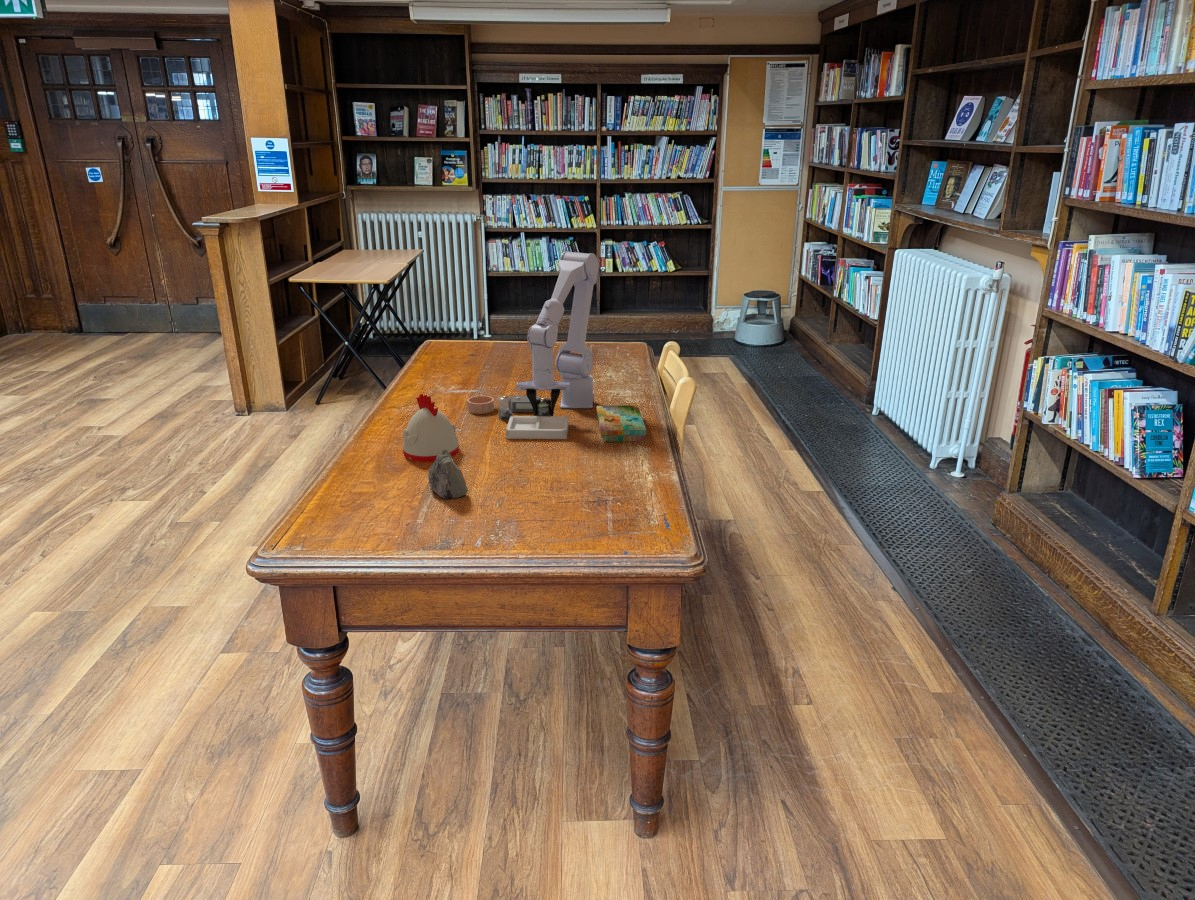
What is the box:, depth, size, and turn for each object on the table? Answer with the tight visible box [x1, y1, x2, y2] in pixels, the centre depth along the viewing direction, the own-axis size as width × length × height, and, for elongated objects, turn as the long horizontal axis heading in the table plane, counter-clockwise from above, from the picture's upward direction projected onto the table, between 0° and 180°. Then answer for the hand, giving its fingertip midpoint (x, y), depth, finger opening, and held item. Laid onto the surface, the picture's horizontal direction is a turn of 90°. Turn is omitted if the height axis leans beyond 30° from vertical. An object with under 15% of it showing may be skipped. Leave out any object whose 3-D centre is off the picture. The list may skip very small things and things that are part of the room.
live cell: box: [536, 397, 551, 416], centre depth 227 cm, size 4×4×6 cm
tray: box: [505, 415, 569, 440], centre depth 220 cm, size 16×11×2 cm
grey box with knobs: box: [511, 395, 541, 413], centre depth 237 cm, size 8×6×3 cm
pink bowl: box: [466, 395, 496, 415], centre depth 236 cm, size 8×8×3 cm
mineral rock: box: [427, 449, 469, 499], centre depth 184 cm, size 13×11×10 cm
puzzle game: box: [595, 404, 647, 442], centre depth 221 cm, size 12×5×20 cm
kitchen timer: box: [402, 393, 460, 463], centre depth 204 cm, size 14×14×15 cm
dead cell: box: [497, 394, 514, 421], centre depth 229 cm, size 4×4×6 cm
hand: (543, 414), depth 228 cm, fingers closed on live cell, 4 cm apart
